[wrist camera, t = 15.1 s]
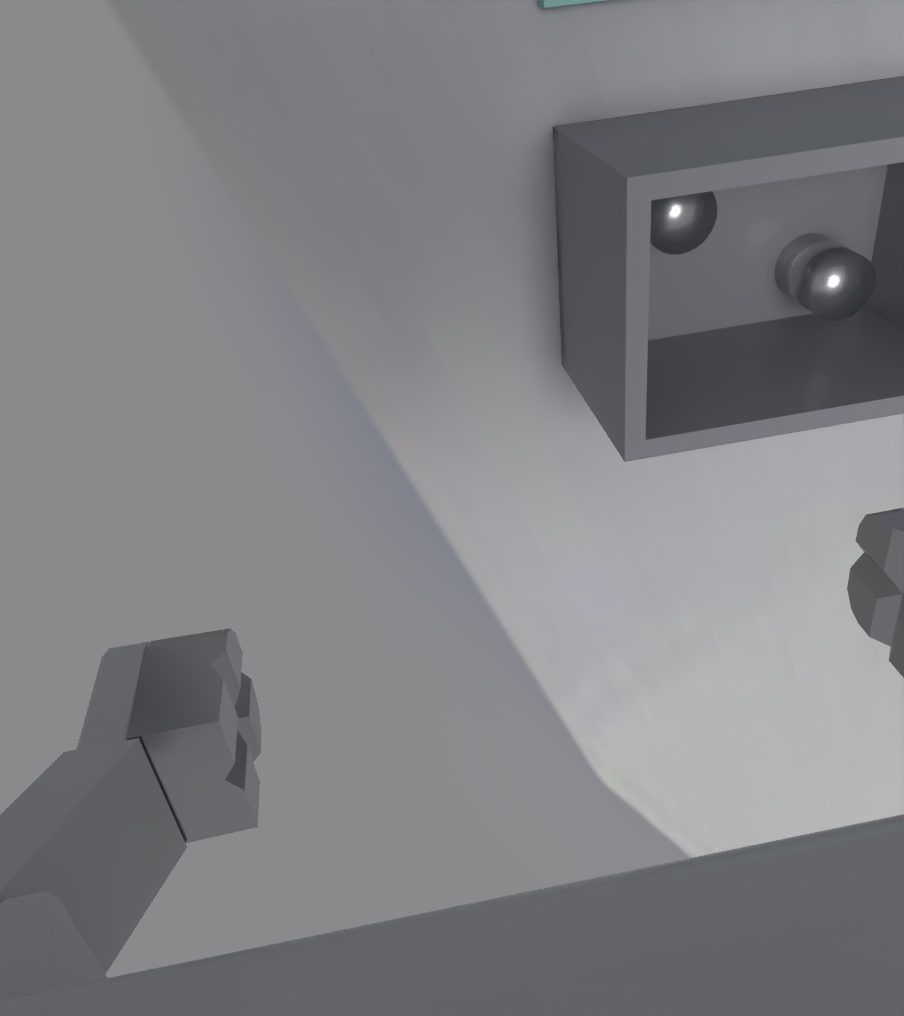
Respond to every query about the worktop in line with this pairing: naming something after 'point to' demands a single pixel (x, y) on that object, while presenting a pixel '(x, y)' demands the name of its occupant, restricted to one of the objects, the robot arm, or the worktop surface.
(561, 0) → the lid
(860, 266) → the metal round knob
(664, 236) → the dark grey ball
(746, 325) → the tub
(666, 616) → the worktop surface
